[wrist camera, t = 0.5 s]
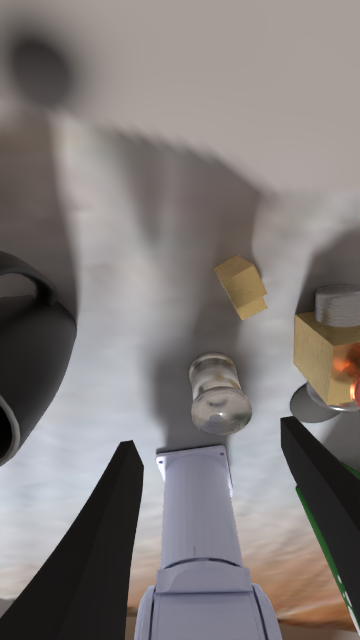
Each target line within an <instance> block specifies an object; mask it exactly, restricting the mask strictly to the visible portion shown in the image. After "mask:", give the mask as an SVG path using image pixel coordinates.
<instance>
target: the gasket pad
mask: <svg viewBox="0 0 360 640" xmlns="http://www.w3.org/2000/svg"><path fill="white" fill-rule="evenodd" d="M290 410H291V412H292V414H293V416H295V417H296V418H297V419H298V420H300V421H302V422H306V423H319V422H323V421H326V420H329V419H331V418H333V417H335V416H336V415H338V414H339V413H340V412H336V411H332V410H329V409H326V408H324V407H322V406H320V405H319V404H317V403H316V402H314V401H313V400H312V399H311V398H310V396H309V395H308V393H307V385H305V386H303V387H302V388H300V389H299V390H298V391H297V392H296V393H295V394H294V396H293V397H292V399H291V402H290Z"/></svg>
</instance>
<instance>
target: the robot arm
mask: <svg viewBox="0 0 360 640" xmlns="http://www.w3.org/2000/svg"><path fill="white" fill-rule="evenodd" d="M280 421H281V448H282V450H283V453H284V456H285V458H286V461H287V463H288V466H289V468H290V471H291V473H292V475H293V477H294V479H295V481H296V483H297V485H298V487H299V489H300V491H301V493H302V495H303V497H304V499H305V502H306V504H307V506H308V508H309V510H310V512H311V514H312V516H313V518H314V520H315V522H316V524H317V526H318V528H319V530H320V532H321V534H322V536H323V538H324V540H325V542H326V545H327V547H328V549H329V551H330V554H331V556H332V559H333V561H334V563H335V566H336V568H337V571H338V573H339V575H340V578H341V580H342V583H343V585H344V588H345V590H346V593H347V595H348V598H349V600H350V603H351V605H352V607H353V610H354V612H355V615H356V617H357V620H358V622H359V625H360V479H359V478H358V477H356V476H355V475H354V474H353V473H352V472H351V471H350V470H349V469H347V468H346V467H345V466H344V465H343V464H342V463H341V462H340V461H339V460H338V459H337V458H336V457H335V456H334V455H332V454H331V453H330V452H329V451H328V450H327V449H326V448H325V447H324V446H323V445H322V444H321V443H320V442H319V441H318V440H317V439H316V438H315V437H314V436H313V435H312V434H311V433H310V432H309V431H308V430H307V429H306V428H305V427H304V426H303V424H302V423H301V422H300V421H299V420H298V419H297V418H296V417H295V416H290V417H283V418H280ZM156 462H157V465H158V467H159V470H160V472H161V475H162V478H163V480H164V483H165V486H164V505H163V524H162V542H161V561H160V570H157V576H156V585H150V586H148V588H147V590H146V592H145V594H144V595H143V597H142V598H141V601H140V605H139V609H138V615H137V621H136V629H135V637H134V640H282V636H281V632H280V629H279V625H278V622H277V618H276V615H275V612H274V609H273V607H272V604H271V602H270V600H269V598H268V596H267V595H266V594H265V593H264V591H263V590H262V588H261V587H260V585H259V584H257V583H252V582H251V577H250V572H249V569H248V568H244V566H243V561H242V555H241V550H240V545H239V539H238V534H237V529H236V523H235V518H234V513H233V507H232V502H231V497H230V496H232V495H233V491H232V485H231V479H230V473H229V467H228V461H227V455H226V449H225V447H224V446H222V445H219V446H211V447H204V448H197V449H189V450H182V451H175V452H167V453H160V454H157V455H156ZM143 473H144V465H143V463H142V461H141V458H140V456H139V454H138V451H137V449H136V447H135V444H134V442H133V440H130V441H124V442H120V444H119V446H118V447H117V449H116V451H115V453H114V455H113V457H112V459H111V460H110V462H109V464H108V466H107V468H106V469H105V471H104V473H103V475H102V477H101V478H100V480H99V482H98V483H97V485H96V487H95V489H94V490H93V492H92V494H91V495H90V497H89V499H88V500H87V502H86V503H85V505H84V507H83V508H82V510H81V511H80V513H79V514H78V516H77V518H76V519H75V521H74V522H73V524H72V525H71V527H70V528H69V530H68V531H67V533H66V534H65V536H64V537H63V538H62V540H61V541H60V543H59V544H58V545H57V547H56V548H55V550H54V551H53V552H52V554H51V555H50V556H49V558H48V559H47V560H46V562H45V563H44V564H43V566H42V567H41V568H40V570H39V571H38V572H37V574H36V575H35V576H34V578H33V579H32V580H31V581H30V583H29V584H28V585H27V586H26V588H25V589H24V590H23V591H22V593H21V594H20V595H19V596H18V597H17V599H16V600H15V601H14V602H13V604H12V605H11V606H10V607H9V609H8V610H7V611H6V612H5V613H4V614H3V616H2V617H1V618H0V640H125V627H126V614H127V601H128V590H129V579H130V568H131V560H132V552H133V546H134V540H135V534H136V528H137V522H138V516H139V509H140V503H141V497H142V489H143Z"/></svg>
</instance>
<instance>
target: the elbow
mask: <svg viewBox="0 0 360 640" xmlns="http://www.w3.org/2000/svg"><path fill="white" fill-rule="evenodd" d="M214 271H215V273H216V275H217V277H218V279H219V281H220V282H221V284H222V286H223V288H224V290H225V292H226V293H227V295H228V297H229V299H230V301H231V303H232V305H233V306H234V308H235V310H236V312H237V313H238V315H239V317H240V318H241V320H244V319H246V318H248V317H250V316H252V315H254V314H256V313H258V312H260V311H262V310H264V309H266V308H267V306H266V304H265V301H264V299H263V297H262V296H263V295H265V294H267V292H266V290H265V288H264V286H263V283H262V281H261V279H260V277H259V275H258V272H257V270H256V268H255V266H254V265H253V264H252V263H250V262H249V261H247V260H245V259H244V258H242V257H240V256H239V255H236V256H234V257H233V258H231V259H229V260H227V261H226V262H224V263H222V264H221V265H219V266H217V267H216V268H214Z"/></svg>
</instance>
